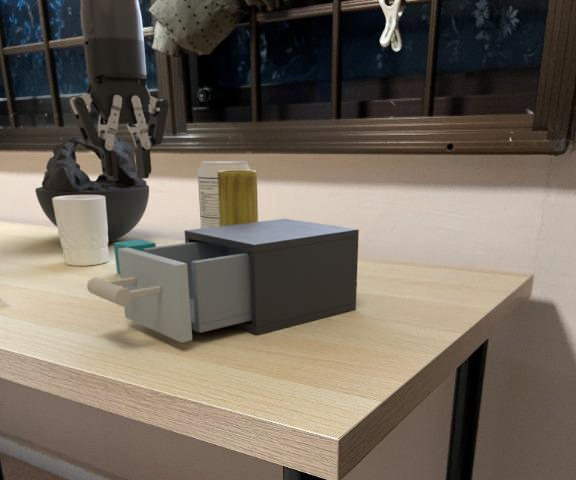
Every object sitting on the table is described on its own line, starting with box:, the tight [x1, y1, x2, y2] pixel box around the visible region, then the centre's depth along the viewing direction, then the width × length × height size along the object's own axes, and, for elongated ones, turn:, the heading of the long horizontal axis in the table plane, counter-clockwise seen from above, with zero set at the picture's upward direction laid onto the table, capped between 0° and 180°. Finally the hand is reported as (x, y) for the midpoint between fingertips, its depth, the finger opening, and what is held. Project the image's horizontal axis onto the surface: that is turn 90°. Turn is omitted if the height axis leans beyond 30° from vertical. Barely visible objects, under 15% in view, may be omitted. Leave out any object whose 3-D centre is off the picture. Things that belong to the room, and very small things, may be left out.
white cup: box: [52, 195, 110, 267], centre depth 96 cm, size 8×8×10 cm
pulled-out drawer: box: [86, 241, 252, 344], centre depth 62 cm, size 18×11×7 cm, turn 131°
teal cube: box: [113, 239, 157, 275], centre depth 89 cm, size 4×4×4 cm
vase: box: [217, 169, 259, 226], centre depth 85 cm, size 6×6×14 cm
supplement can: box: [197, 160, 251, 229], centre depth 94 cm, size 8×8×15 cm
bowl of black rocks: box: [34, 135, 150, 242], centre depth 112 cm, size 20×20×19 cm
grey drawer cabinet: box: [184, 218, 360, 336], centre depth 69 cm, size 15×13×9 cm
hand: (127, 178), depth 85 cm, fingers open, 4 cm apart
